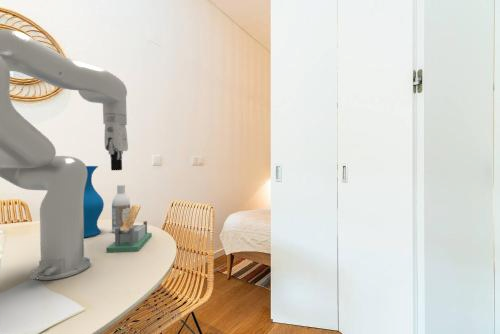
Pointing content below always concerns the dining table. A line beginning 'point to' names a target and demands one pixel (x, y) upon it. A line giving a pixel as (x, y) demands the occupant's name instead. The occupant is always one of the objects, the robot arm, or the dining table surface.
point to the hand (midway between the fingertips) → (116, 170)
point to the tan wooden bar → (130, 219)
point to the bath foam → (120, 208)
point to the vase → (91, 206)
